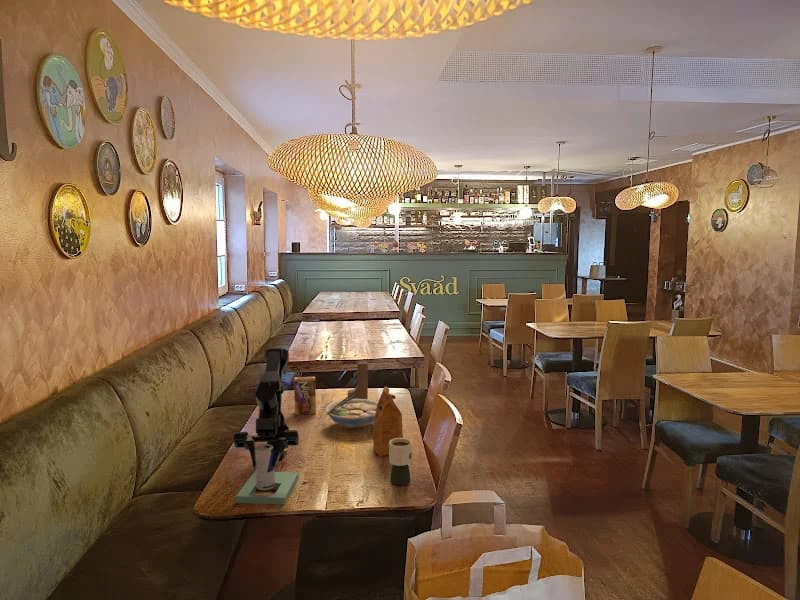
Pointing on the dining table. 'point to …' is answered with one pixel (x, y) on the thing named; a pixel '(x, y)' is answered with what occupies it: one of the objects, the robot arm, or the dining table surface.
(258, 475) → the energy drink
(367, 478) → the dining table surface
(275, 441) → the robot arm
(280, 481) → the socket board
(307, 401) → the candy box
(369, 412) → the ramen bowl
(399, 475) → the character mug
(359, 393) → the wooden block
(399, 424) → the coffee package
